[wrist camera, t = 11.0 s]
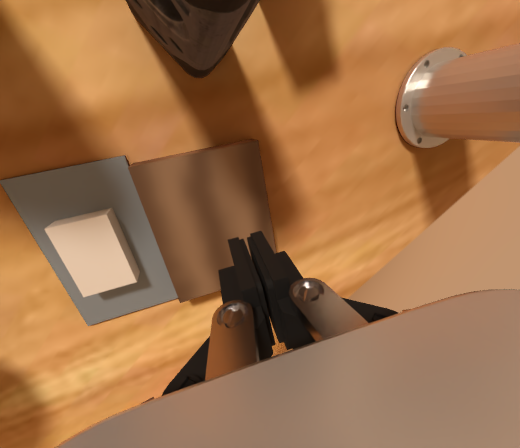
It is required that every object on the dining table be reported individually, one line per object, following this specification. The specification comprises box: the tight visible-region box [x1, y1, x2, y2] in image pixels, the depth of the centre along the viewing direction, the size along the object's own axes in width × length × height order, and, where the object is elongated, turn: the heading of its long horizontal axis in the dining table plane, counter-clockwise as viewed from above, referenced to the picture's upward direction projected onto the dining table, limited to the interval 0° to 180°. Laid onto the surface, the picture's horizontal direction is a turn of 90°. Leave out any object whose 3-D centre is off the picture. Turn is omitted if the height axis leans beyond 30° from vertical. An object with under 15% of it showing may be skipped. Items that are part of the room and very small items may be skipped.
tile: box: [44, 208, 140, 297], centre depth 29 cm, size 6×9×2 cm, turn 10°
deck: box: [128, 139, 276, 303], centre depth 32 cm, size 14×18×3 cm
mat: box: [0, 155, 178, 326], centre depth 31 cm, size 12×20×1 cm, turn 10°
